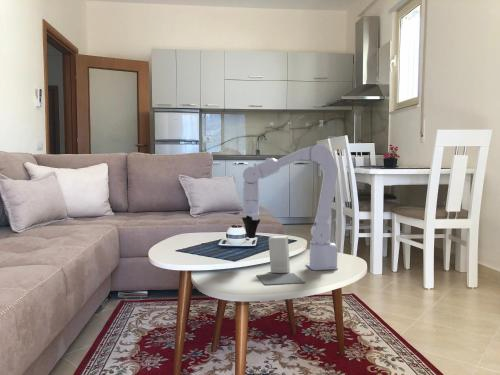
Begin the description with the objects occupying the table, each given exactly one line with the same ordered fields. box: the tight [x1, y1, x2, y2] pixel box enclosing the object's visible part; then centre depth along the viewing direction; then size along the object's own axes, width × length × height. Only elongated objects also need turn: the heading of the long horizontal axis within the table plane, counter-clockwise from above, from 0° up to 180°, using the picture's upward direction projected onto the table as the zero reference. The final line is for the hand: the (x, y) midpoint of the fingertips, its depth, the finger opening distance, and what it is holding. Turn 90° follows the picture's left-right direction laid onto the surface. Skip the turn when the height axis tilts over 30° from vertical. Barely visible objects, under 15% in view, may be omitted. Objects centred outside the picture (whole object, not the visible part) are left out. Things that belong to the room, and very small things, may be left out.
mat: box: [255, 272, 306, 286], centre depth 134 cm, size 13×11×1 cm
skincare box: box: [268, 235, 291, 274], centre depth 143 cm, size 6×4×12 cm
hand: (250, 237), depth 152 cm, fingers open, 2 cm apart
